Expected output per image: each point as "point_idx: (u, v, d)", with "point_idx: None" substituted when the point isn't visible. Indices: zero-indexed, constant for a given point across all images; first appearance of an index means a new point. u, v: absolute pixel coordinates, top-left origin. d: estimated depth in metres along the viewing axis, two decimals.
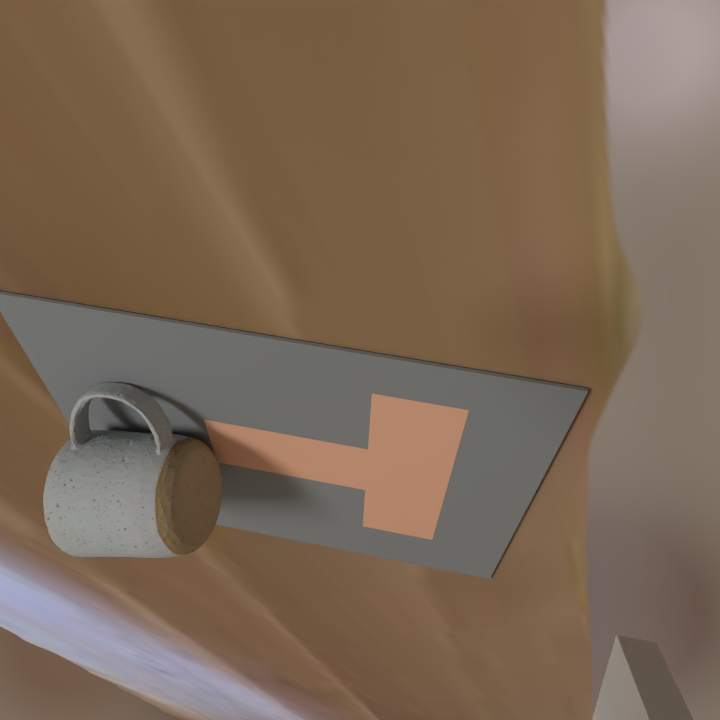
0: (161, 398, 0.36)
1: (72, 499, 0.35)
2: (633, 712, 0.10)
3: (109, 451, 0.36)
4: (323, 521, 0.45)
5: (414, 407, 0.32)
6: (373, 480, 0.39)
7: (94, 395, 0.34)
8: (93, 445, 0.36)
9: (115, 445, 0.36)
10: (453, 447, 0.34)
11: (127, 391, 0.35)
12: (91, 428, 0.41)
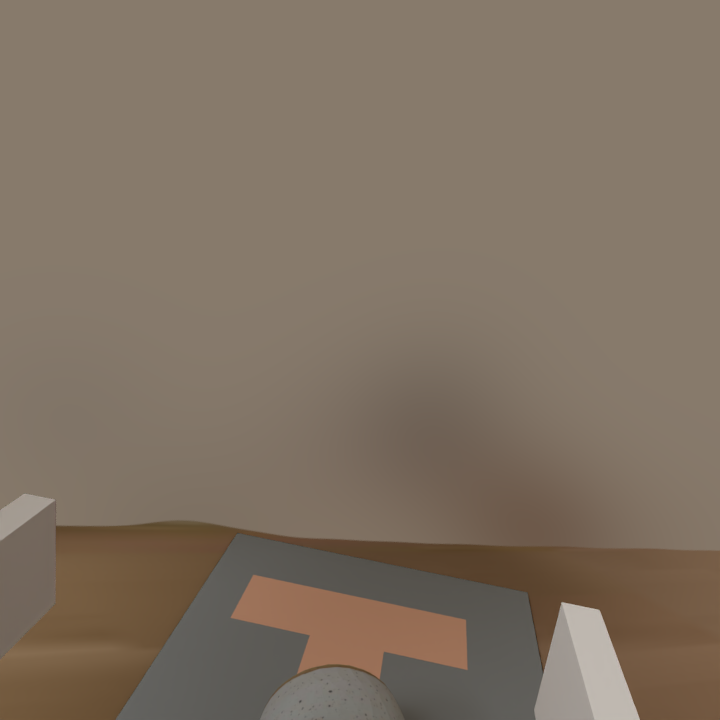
0: None
1: None
2: (571, 671, 0.11)
3: None
4: (476, 706, 0.37)
5: (249, 598, 0.44)
6: (363, 641, 0.41)
7: None
8: None
9: None
10: (299, 587, 0.46)
11: None
12: None
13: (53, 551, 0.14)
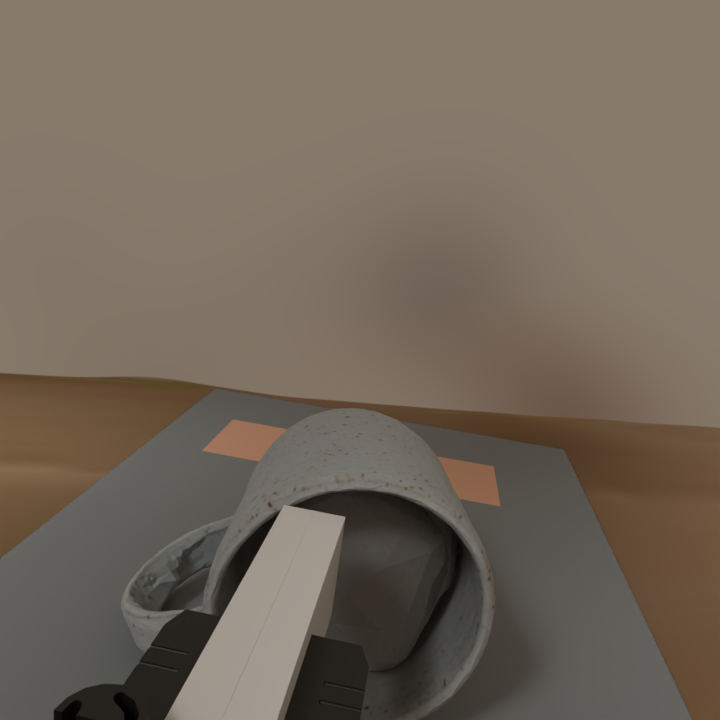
0: None
1: (251, 493, 0.17)
2: None
3: None
4: (515, 537, 0.29)
5: (226, 437, 0.35)
6: None
7: (126, 588, 0.20)
8: None
9: None
10: None
11: None
12: None
13: None
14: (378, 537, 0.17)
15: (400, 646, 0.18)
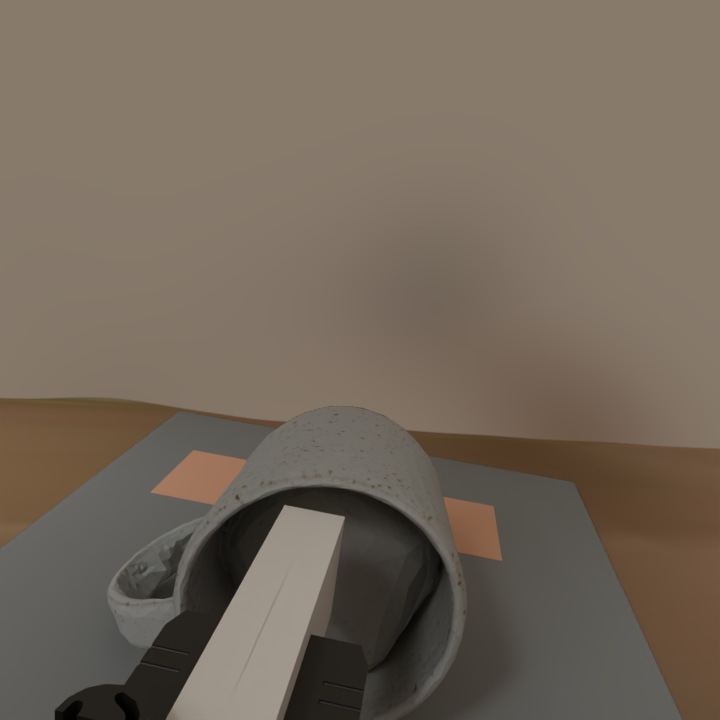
0: None
1: (229, 486, 0.17)
2: None
3: None
4: (520, 604, 0.24)
5: (182, 473, 0.30)
6: None
7: (115, 575, 0.20)
8: None
9: None
10: None
11: None
12: None
13: None
14: (352, 535, 0.17)
15: (375, 648, 0.18)
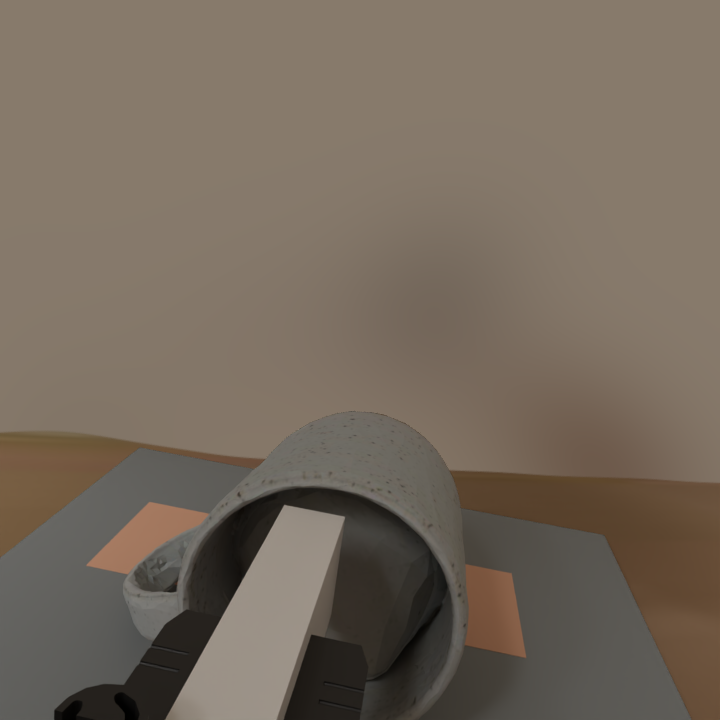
0: None
1: None
2: None
3: None
4: None
5: (131, 536, 0.25)
6: None
7: None
8: None
9: None
10: None
11: None
12: None
13: None
14: (355, 540, 0.16)
15: (378, 657, 0.17)
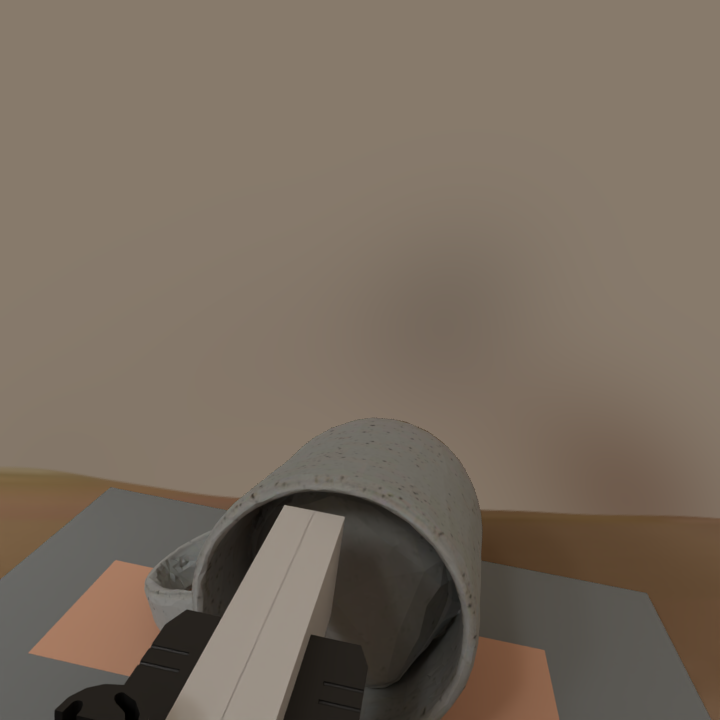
0: None
1: None
2: None
3: None
4: None
5: (88, 608, 0.21)
6: None
7: (156, 565, 0.21)
8: None
9: None
10: None
11: None
12: None
13: None
14: (368, 546, 0.16)
15: (390, 665, 0.17)
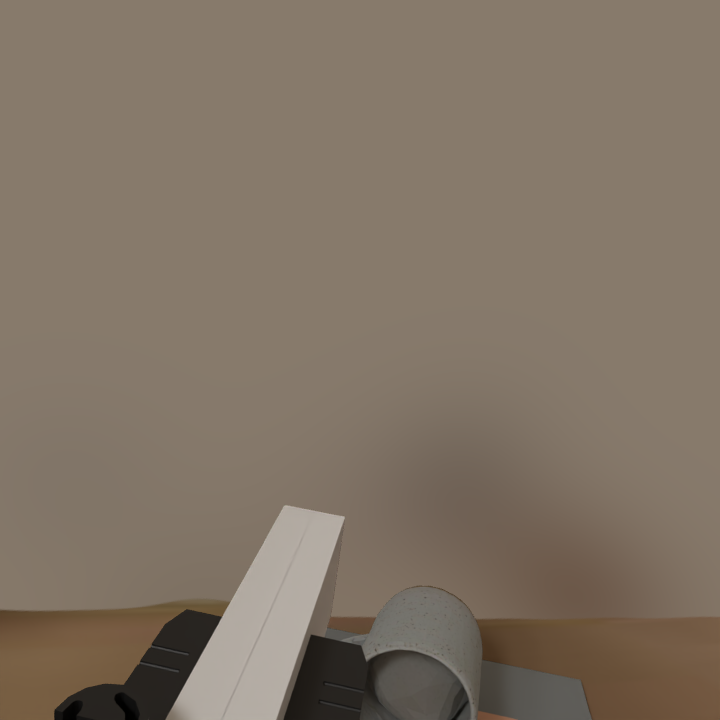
0: None
1: (371, 637, 0.37)
2: None
3: None
4: None
5: None
6: None
7: None
8: None
9: None
10: None
11: None
12: None
13: None
14: (426, 670, 0.36)
15: None
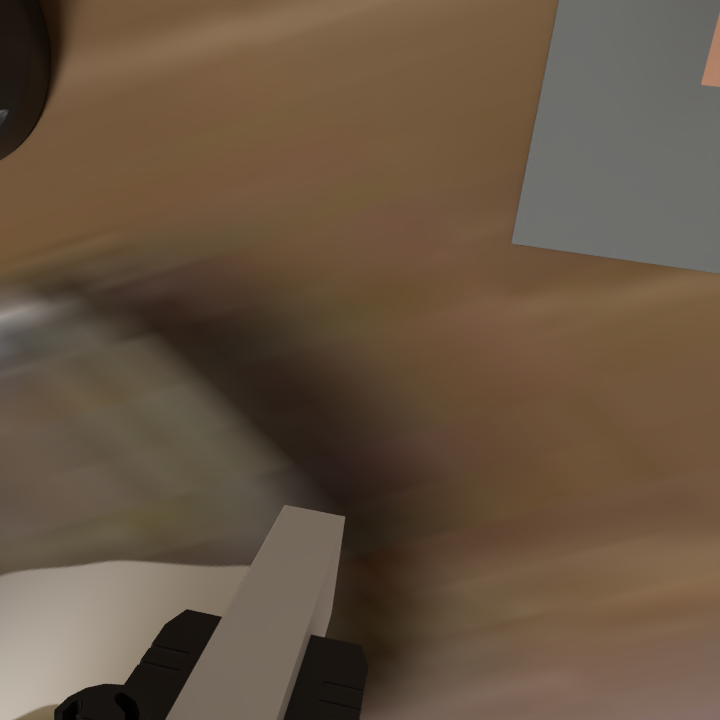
0: (662, 126, 0.35)
1: None
2: None
3: None
4: None
5: None
6: None
7: None
8: None
9: None
10: None
11: None
12: None
13: None
14: None
15: None
